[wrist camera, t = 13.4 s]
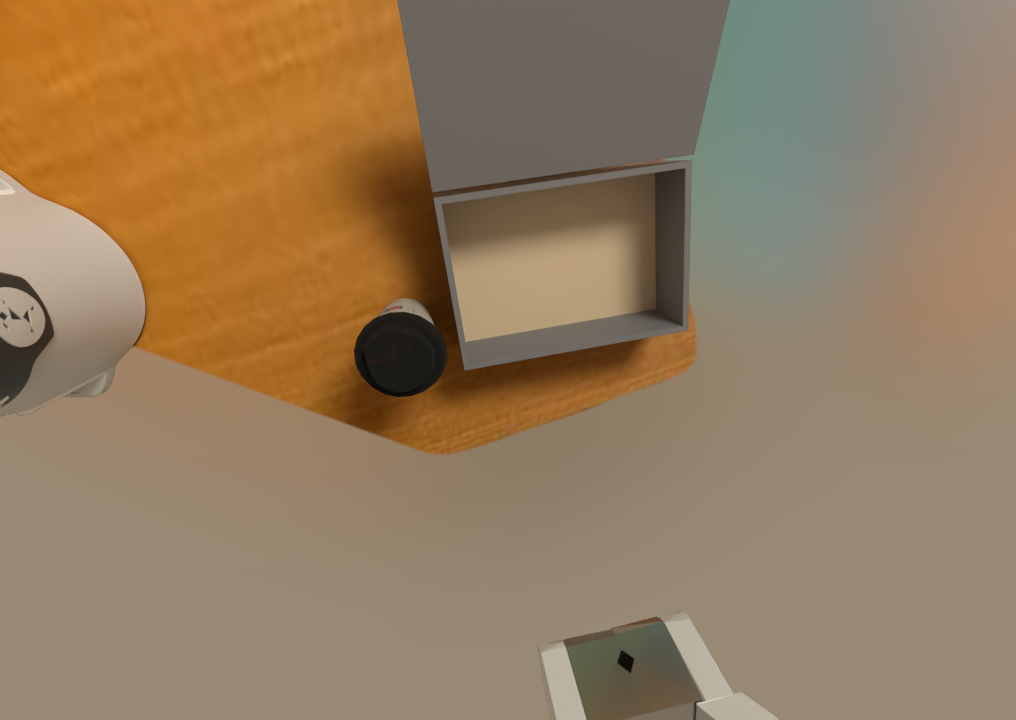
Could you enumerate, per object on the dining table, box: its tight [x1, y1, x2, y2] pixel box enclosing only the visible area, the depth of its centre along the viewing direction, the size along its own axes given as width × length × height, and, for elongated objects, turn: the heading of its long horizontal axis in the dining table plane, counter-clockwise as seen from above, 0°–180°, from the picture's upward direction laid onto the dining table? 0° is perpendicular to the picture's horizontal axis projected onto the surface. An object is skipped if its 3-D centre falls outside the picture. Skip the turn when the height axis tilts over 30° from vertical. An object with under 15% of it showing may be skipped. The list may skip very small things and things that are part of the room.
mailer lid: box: [397, 0, 730, 192], centre depth 31 cm, size 20×14×1 cm
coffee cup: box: [354, 298, 447, 397], centre depth 40 cm, size 7×7×10 cm
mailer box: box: [433, 160, 692, 370], centre depth 41 cm, size 20×14×6 cm
